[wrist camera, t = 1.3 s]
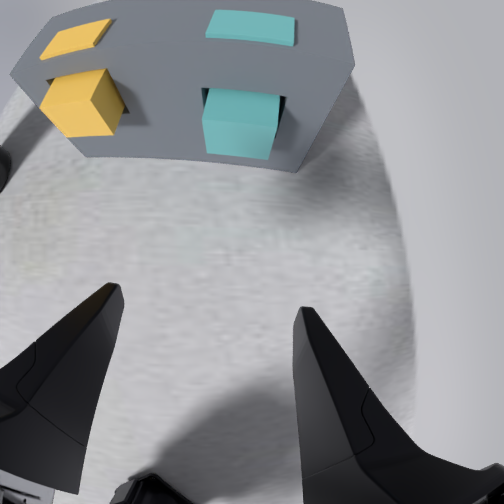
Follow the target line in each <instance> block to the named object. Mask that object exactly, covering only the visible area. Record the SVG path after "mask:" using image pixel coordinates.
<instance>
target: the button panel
mask: <svg viewBox="0 0 504 504" xmlns="http://www.w3.org/2000/svg"><path fill="white" fill-rule="evenodd" d="M354 66H355V62H354V56H353V52H352V46H351V41H350V37H349V32H348V28H347V23H346V19H345V15H344V11H343V8H340V7H336V6H332V5H329V4H325V3H320V2H316V1H312V0H109V1H105V2H101V3H97V4H93V5H89V6H85V7H82V8H79V9H75V10H72V11H69V12H66V13H63V14H60V15H57V16H55V17H52V18H51V19H50V20H49V22H48V23H47V24H46V25H45V26H44V28H43V29H42V30H41V31H40V32H39V34H38V35H37V36H36V37H35V39H34V40H33V41H32V43H31V44H30V45H29V47H28V48H27V49H26V51H25V52H24V54H23V55H22V56H21V58H20V59H19V61H18V62H17V64H16V65H15V67H14V68H13V70H12V71H11V73H10V76H11V77H12V78H13V79H14V81H15V82H16V83H17V84H18V85H19V86H20V87H21V89H22V90H23V91H24V92H25V93H26V94H27V95H28V96H29V98H30V99H31V100H32V101H33V102H34V103H35V104H36V105H37V106H38V108H39V107H40V105H41V103H42V101H43V99H44V97H45V95H46V93H47V92H48V90H49V88H50V86H51V84H52V83H53V81H54V79H55V78H56V77H60V76H65V75H70V74H75V73H80V72H85V71H91V70H98V69H105V68H107V69H108V71H109V73H110V75H111V77H112V79H113V81H114V83H115V85H116V87H117V89H118V91H119V93H120V95H121V97H122V99H123V101H124V103H125V107H124V110H123V112H122V115H121V117H120V120H119V123H118V125H117V128H116V131H115V134H114V135H108V136H84V137H69V138H68V139H69V140H70V141H71V143H72V144H73V145H74V146H75V147H76V148H77V149H78V150H79V151H80V152H81V153H82V154H83V155H84V156H85V157H135V158H160V159H177V160H191V161H204V162H215V163H225V164H234V165H243V166H251V167H259V168H266V169H274V170H280V171H287V172H294V173H297V171H298V169H299V167H300V165H301V163H302V162H303V160H304V158H305V156H306V154H307V152H308V151H309V149H310V147H311V145H312V143H313V141H314V140H315V138H316V136H317V134H318V132H319V130H320V129H321V127H322V125H323V123H324V121H325V119H326V118H327V116H328V114H329V112H330V110H331V108H332V107H333V105H334V103H335V101H336V99H337V97H338V96H339V94H340V92H341V90H342V88H343V86H344V85H345V83H346V81H347V79H348V77H349V75H350V74H351V72H352V70H353V68H354ZM210 88H219V89H231V90H242V91H251V92H259V93H266V94H273V95H280V101H279V113H278V125H277V130H276V134H275V137H274V141H273V144H272V148H271V151H270V155H269V158H268V160H263V159H256V158H248V157H239V156H230V155H220V154H210V153H207V150H206V144H205V137H204V131H203V124H202V116H203V112H204V108H205V104H206V100H207V96H208V93H209V89H210ZM39 109H40V108H39ZM40 110H41V109H40ZM51 122H52V121H51ZM52 123H53V122H52ZM53 124H54V123H53Z"/></svg>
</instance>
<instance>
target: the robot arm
mask: <svg viewBox="0 0 504 504" xmlns="http://www.w3.org/2000/svg"><path fill="white" fill-rule="evenodd" d="M123 309H124V298H123V294H122V291H121V287H120V285H119V284H116V283H111V282H109V283H106V284H105V285H104V286H102V287H101V288H100V289H99V290H97V291H96V292H95V293H93V294H92V295H91V296H89V297H88V298H87V299H86V300H84V301H83V302H82V303H81V304H79V305H78V306H77V307H76V308H74V309H73V310H72V311H71V312H69V313H68V314H67V315H66V316H64V317H63V318H62V319H61V320H60V321H58V322H57V323H56V324H55V325H53V326H52V327H51V328H50V329H49V330H47V331H46V332H45V333H44V334H43V335H42V336H40V337H39V338H38V339H37V340H36V342H33V343H32V344H31V345H30V346H29V347H28V348H26V349H25V350H24V351H23V352H22V353H20V354H19V355H18V356H17V357H16V358H14V359H13V360H12V361H10V362H9V363H8V364H6V365H5V366H4V367H2V368H1V369H0V504H53V499H54V493H55V489H56V490H60V491H64V492H68V493H72V494H76V495H78V493H79V487H80V481H81V475H82V469H83V464H84V459H85V454H86V449H87V448H86V447H87V444H88V439H89V435H90V431H91V426H92V422H93V418H94V414H95V410H96V407H97V403H98V399H99V396H100V392H101V389H102V385H103V382H104V379H105V375H106V372H107V369H108V366H109V363H110V359H111V356H112V353H113V350H114V347H115V343H116V339H117V334H118V330H119V326H120V321H121V317H122V313H123ZM293 379H294V389H295V399H296V410H297V421H298V432H299V444H300V457H301V471H302V478H303V479H302V486H303V502H304V504H504V466H503V465H501V464H499V463H494V464H492V465H490V466H488V467H485V468H483V469H481V470H473V469H469V468H466V467H463V466H460V465H457V464H454V463H451V462H449V461H446V460H443V459H441V458H438V457H435V456H433V455H431V454H428V453H426V452H425V451H424V450H422V449H421V448H420V447H418V446H417V445H416V444H415V443H414V441H413V440H412V439H411V438H410V437H409V436H408V435H407V433H406V432H405V431H404V430H403V429H402V428H401V427H400V425H399V424H398V423H397V422H396V421H395V420H394V418H393V417H392V416H391V415H390V414H389V412H388V411H387V410H386V409H385V408H384V406H383V405H382V403H381V402H380V401H379V399H378V398H377V397H376V395H375V394H374V392H373V391H372V390H371V388H369V385H368V384H367V383H366V381H365V380H364V378H363V377H362V375H361V374H360V373H359V371H358V370H357V368H356V367H355V365H354V364H353V363H352V361H351V360H350V358H349V357H348V356H347V354H346V353H345V351H344V350H343V349H342V347H341V346H340V344H339V343H338V342H337V340H336V339H335V337H334V336H333V335H332V333H331V332H330V330H329V329H328V328H327V326H326V325H325V323H324V322H323V321H322V319H321V318H320V316H319V315H318V314H317V312H316V311H315V310H314V308H312V307H304V306H302V307H300V308H299V311H298V313H297V316H296V319H295V321H294V326H293ZM152 477H153V478H155V479H153V478H152ZM110 504H193V503H191V502H190V501H189V500H187V499H186V498H185V497H183V496H182V495H181V494H179V493H178V492H177V491H176V490H174V489H173V488H172V487H170V486H169V485H168V484H167V483H166V482H164V481H163V480H162V479H161V478H160V477H158V476H157V475H156V474H149V475H147V476H145V477H142V478H140V479H133V480H131V481H129V482H126V483H124V484H122V485H120V486H119V488H117V489H116V490H115V495H114V497H113V499H112V500H111V502H110Z"/></svg>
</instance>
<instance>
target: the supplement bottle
mask: <svg viewBox="0 0 504 504" xmlns="http://www.w3.org/2000/svg"><path fill="white" fill-rule="evenodd" d="M10 164H11V160H10V155H9V153H8V151H7V150H6V149H4V148H3V147H2V146H1V145H0V191H1V189H2V188H3V186H4V184H5V182H6V180H7V177H8V174H9V171H10Z"/></svg>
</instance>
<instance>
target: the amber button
mask: <svg viewBox="0 0 504 504" xmlns="http://www.w3.org/2000/svg"><path fill="white" fill-rule="evenodd" d="M124 107H125V103H124V101H123V99H122V97H121V95H120V93H119V91H118V89H117V87H116V85H115V83H114V81H113V79H112V77H111V75H110V73H109V71H108V69H107V68H105V69H98V70H91V71H85V72H80V73H75V74H70V75H65V76H60V77H56V78H55V79H54V81H53V83H52V84H51V86H50V88H49V90H48V92H47V93H46V95H45V97H44V99H43V101H42V103H41V105H40V107H39V108H40V109H41V111H42V112H43V113H44V114H45V115H46V116H47V117H48V118H49V119H50V120H51V121H52V122H53V123H54V125H55V126H56V127H57V128H58V129H59V130H60V131H61V132H62V133H63V134H64V135H65V136H66V137H67V138H69V137H84V136H108V135H114V134H115V131H116V128H117V125H118V123H119V120H120V117H121V115H122V112H123V110H124Z"/></svg>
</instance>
